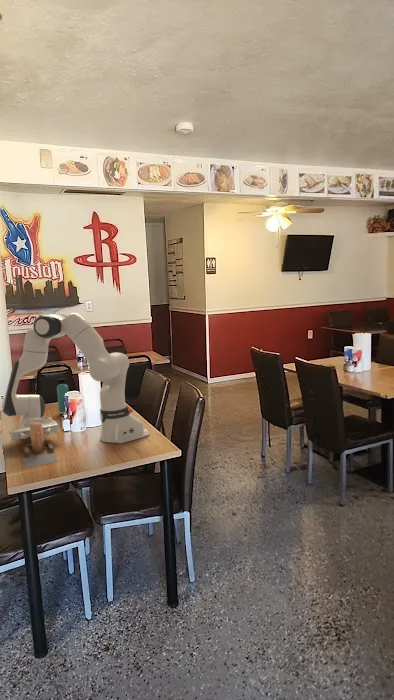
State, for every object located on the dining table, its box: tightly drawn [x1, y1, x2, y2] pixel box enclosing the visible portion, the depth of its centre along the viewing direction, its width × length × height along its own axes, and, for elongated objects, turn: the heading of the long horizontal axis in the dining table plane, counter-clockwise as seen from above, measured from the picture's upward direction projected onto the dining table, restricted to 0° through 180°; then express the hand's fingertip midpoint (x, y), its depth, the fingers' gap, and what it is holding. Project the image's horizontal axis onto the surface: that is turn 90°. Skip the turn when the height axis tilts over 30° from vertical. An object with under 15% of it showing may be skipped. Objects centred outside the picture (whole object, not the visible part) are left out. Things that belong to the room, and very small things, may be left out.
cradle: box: [22, 440, 55, 458], centre depth 200 cm, size 11×11×2 cm
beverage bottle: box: [56, 378, 70, 413], centre depth 259 cm, size 6×7×20 cm
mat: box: [22, 452, 58, 469], centre depth 189 cm, size 12×12×1 cm
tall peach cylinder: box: [30, 422, 45, 453], centre depth 198 cm, size 5×8×12 cm, turn 26°
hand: (36, 435), depth 201 cm, fingers open, 8 cm apart
